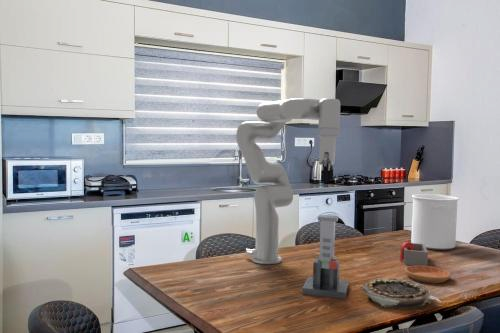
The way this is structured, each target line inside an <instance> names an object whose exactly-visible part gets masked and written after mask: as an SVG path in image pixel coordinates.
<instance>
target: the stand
mask: <svg viewBox="0 0 500 333" xmlns="http://www.w3.org/2000/svg"><path fill="white" fill-rule="evenodd" d="M312 263H313V268H312V269H313V270H312V271H313V272H312V276H308V275H307V276H308V277H307V278H306V280H305V282H304V284H303V286H302V289H301V294H302V295H310V296H318V297H325V298H326V297H327V298H337V299H346V296H347V292H348V288H349V280H348V279H341V278H340V258H334V261H329V269H326V268H321V262H319V256H317V257H315V259H314V261H313V262H312ZM339 278H340V279H339Z"/></svg>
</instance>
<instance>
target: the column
mask: <svg viewBox="0 0 500 333" xmlns="http://www.w3.org/2000/svg"><path fill="white" fill-rule="evenodd" d="M338 220H339V215H325V214H324V215H323V214H319V215H318V216H317V221H320V223H319V226H320V227H319V233H320V234H319V253H318V254H319V256H318V257H319V262H321V268H326V269H329V261H334V259H335V246H336V245H335V243H336V222H337V223H338Z"/></svg>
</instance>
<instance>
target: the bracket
mask: <svg viewBox="0 0 500 333" xmlns="http://www.w3.org/2000/svg"><path fill="white" fill-rule="evenodd" d="M407 247H408V250H413V251H414V247H413V244H412V243H411V241H405V243H404V244H403V243H402V244H401V248H400V253H399V254H400V256H399V262H402V263H404V248H407Z"/></svg>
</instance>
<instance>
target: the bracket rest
mask: <svg viewBox="0 0 500 333" xmlns="http://www.w3.org/2000/svg"><path fill="white" fill-rule="evenodd" d="M405 242H406V241H405ZM405 242H402V245H403V244H404V243H405ZM412 244H413V247H414V251H413V250H408V247H407V248H404V262H403V265H404V264H405V266H415V265H420V266H428V257H429V256H428V255H429V254H428V253H429V252H428V249H426V247H425V245H424V244H418V243H412Z"/></svg>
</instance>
